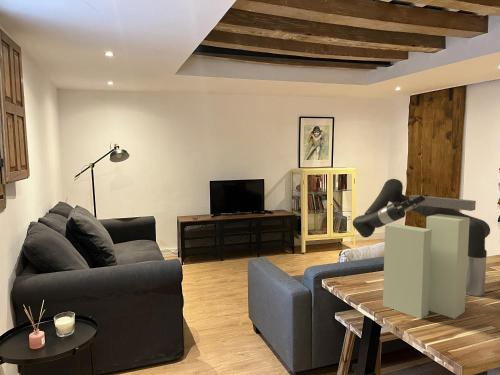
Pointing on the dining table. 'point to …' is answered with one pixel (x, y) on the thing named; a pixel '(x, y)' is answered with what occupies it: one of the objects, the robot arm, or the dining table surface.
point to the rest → (407, 269)
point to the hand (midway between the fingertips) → (425, 197)
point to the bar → (446, 202)
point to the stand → (448, 264)
